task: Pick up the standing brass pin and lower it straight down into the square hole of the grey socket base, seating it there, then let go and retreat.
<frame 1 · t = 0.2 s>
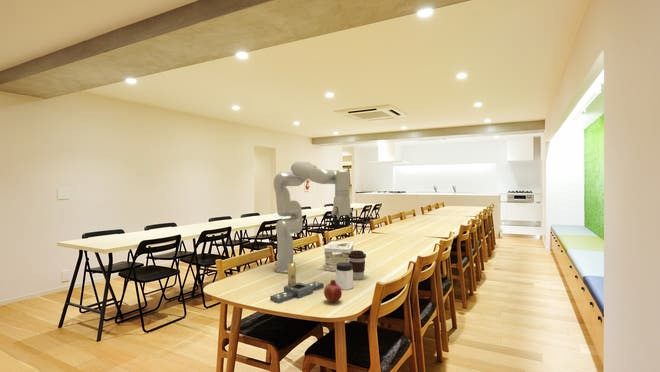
hand: (342, 226, 178), 31 cm above the table, tool pointing down, fingers open, 9 cm apart
coffee cup: (357, 278, 192), on the table
pin: (292, 286, 177), on the table
jar: (344, 287, 175), on the table
grey socket base: (298, 293, 165), on the table
fruit: (332, 302, 154), on the table
storage basket: (339, 267, 216), on the table
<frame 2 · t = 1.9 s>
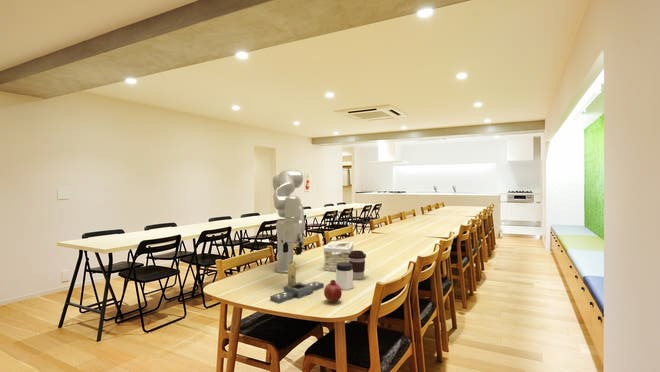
hand: (292, 253, 176), 17 cm above the table, tool pointing down, fingers open, 9 cm apart
nothing on the table moved.
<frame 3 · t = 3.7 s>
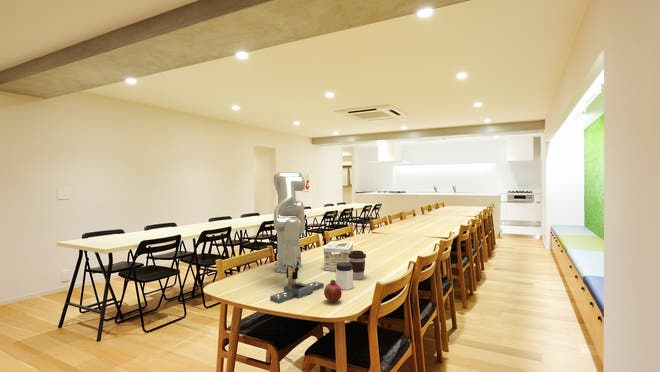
hand: (292, 277, 177), 4 cm above the table, tool pointing down, fingers closed on pin, 4 cm apart
pin: (292, 286, 177), on the table, touching gripper
everything else where it was.
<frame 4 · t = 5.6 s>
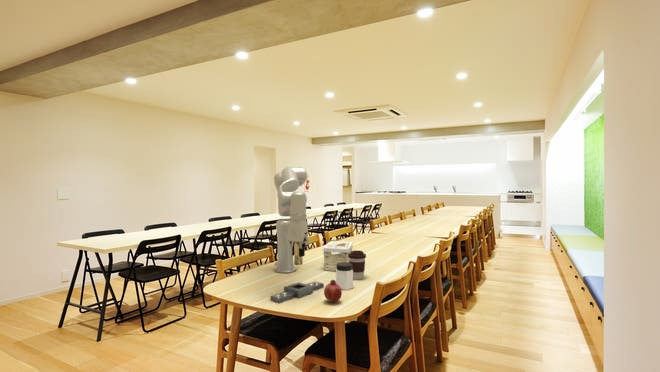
hand: (298, 255, 165), 19 cm above the table, tool pointing down, fingers closed on pin, 4 cm apart
pin: (298, 264, 165), point 14 cm above the table, touching gripper
everything else where it was.
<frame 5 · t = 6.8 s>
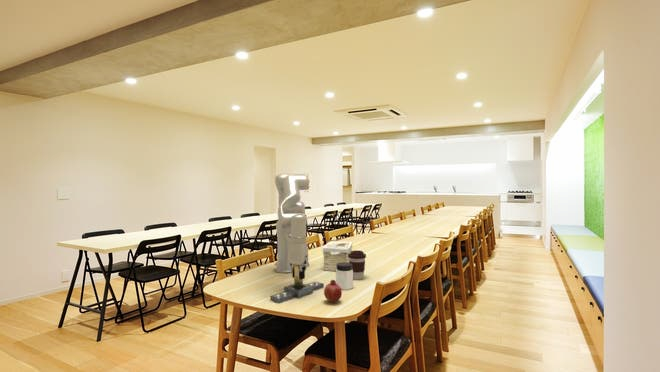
hand: (298, 277, 165), 8 cm above the table, tool pointing down, fingers closed on pin, 4 cm apart
pin: (298, 286, 165), point 3 cm above the table, touching gripper
everything else where it was.
when the fingers open (5 cm above the table, at t = 7.6 s): pin stays where it is, resting in grey socket base.
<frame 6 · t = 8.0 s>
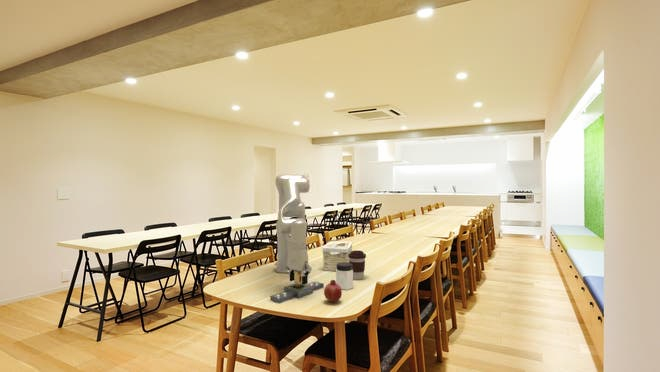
hand: (298, 282, 165), 6 cm above the table, tool pointing down, fingers open, 8 cm apart
pin: (298, 293, 165), resting in grey socket base
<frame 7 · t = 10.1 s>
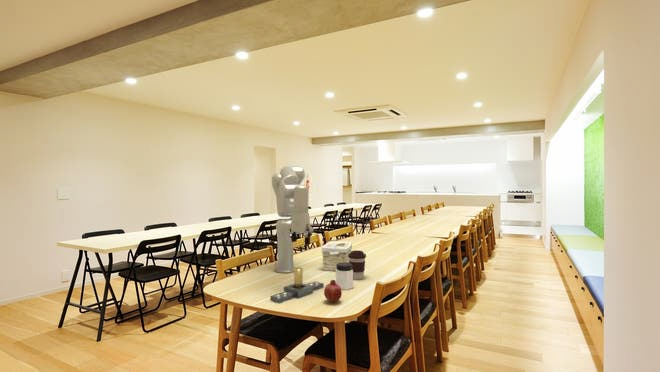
hand: (300, 243, 174), 23 cm above the table, tool pointing down, fingers open, 9 cm apart
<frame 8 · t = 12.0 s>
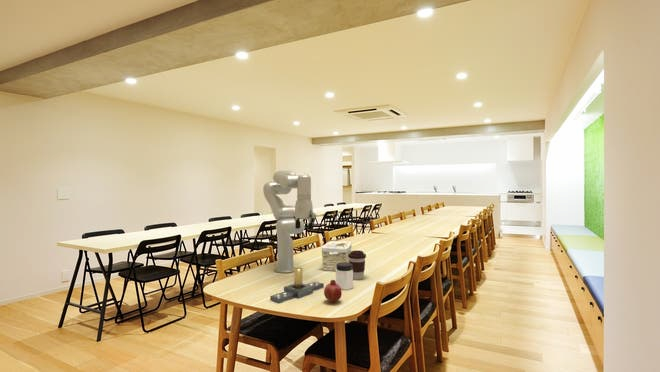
hand: (304, 229, 186), 28 cm above the table, tool pointing down, fingers open, 9 cm apart
at the end: pin 0.1 cm off-centre on the grey socket base, point 0.0 cm above the grey socket base's base; pin tilted 0°; the gripper is holding nothing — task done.
